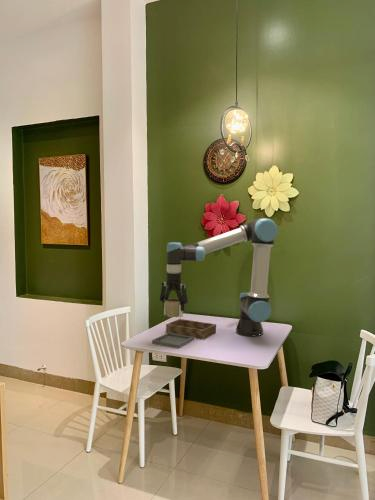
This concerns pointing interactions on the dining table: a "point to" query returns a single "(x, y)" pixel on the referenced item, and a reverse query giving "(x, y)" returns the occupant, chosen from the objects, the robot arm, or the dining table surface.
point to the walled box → (191, 328)
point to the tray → (173, 340)
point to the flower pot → (172, 307)
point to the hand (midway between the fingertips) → (173, 315)
